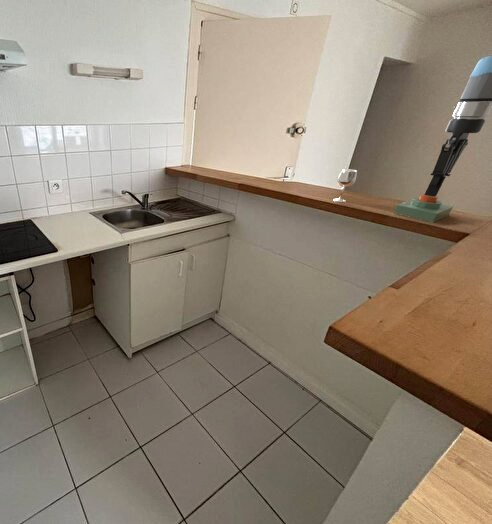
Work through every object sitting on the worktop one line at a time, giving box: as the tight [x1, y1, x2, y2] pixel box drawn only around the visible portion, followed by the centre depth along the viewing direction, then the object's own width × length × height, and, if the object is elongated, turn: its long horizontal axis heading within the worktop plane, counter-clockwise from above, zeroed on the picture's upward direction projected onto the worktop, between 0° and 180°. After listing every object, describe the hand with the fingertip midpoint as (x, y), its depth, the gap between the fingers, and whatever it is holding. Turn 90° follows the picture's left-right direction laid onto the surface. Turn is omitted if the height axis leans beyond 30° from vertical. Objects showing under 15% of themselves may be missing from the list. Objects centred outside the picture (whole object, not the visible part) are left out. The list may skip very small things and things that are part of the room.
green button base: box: [392, 197, 454, 223], centre depth 98 cm, size 14×11×5 cm
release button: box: [418, 193, 439, 203], centre depth 97 cm, size 4×4×2 cm
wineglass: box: [333, 168, 358, 203], centre depth 112 cm, size 6×6×12 cm
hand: (430, 195), depth 96 cm, fingers closed
